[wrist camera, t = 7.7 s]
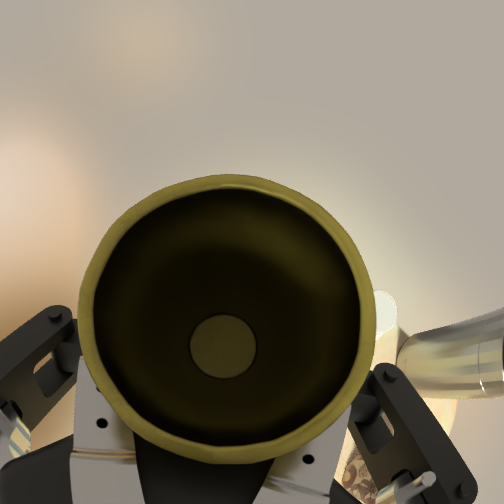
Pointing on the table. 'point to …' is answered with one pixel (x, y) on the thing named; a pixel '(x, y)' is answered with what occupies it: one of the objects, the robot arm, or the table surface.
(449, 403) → the table surface
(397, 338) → the table surface
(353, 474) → the figurine
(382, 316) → the supplement bottle
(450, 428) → the table surface
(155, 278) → the vase
